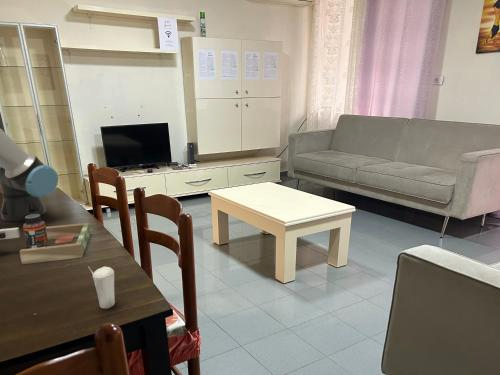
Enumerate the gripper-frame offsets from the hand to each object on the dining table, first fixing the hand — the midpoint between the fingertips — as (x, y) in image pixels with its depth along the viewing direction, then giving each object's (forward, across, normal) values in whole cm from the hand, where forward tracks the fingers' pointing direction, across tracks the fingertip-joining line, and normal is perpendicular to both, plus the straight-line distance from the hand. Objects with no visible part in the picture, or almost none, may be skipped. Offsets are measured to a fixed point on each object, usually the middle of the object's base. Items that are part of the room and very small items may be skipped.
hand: (18, 232), depth 111 cm
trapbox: (+10, 0, -6) cm, 12 cm away
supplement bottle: (+4, 0, -7) cm, 8 cm away
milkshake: (+28, +38, -7) cm, 47 cm away
